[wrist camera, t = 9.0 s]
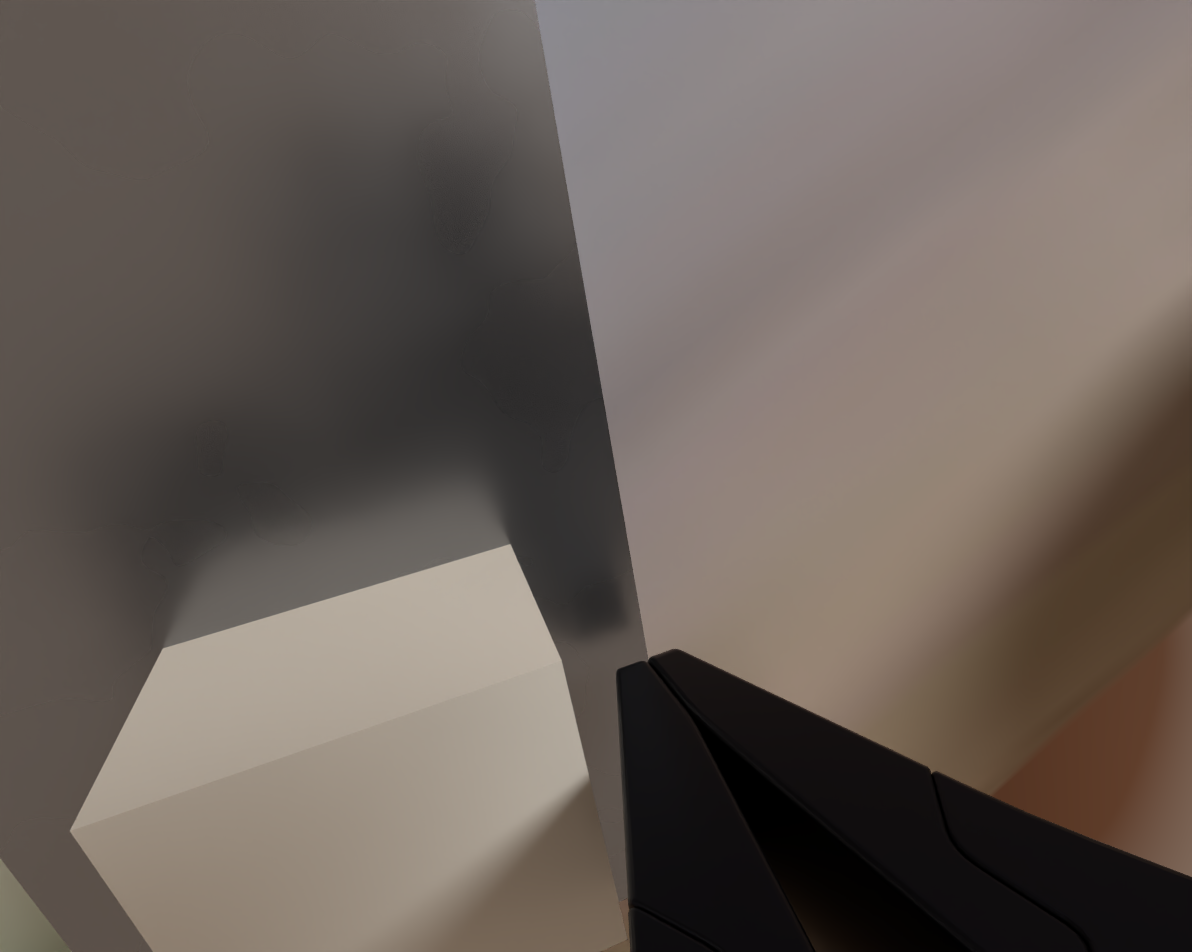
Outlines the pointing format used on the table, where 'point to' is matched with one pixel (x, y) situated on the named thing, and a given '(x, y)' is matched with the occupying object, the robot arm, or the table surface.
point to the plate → (278, 363)
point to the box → (24, 920)
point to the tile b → (360, 781)
